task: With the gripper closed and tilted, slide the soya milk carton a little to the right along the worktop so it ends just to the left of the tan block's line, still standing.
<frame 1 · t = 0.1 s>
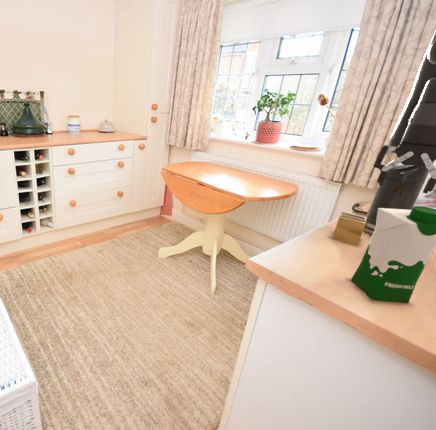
hand: (401, 188, 76), 17 cm above the counter, tool pointing down, fingers open, 8 cm apart
tan block: (345, 238, 86), on the counter
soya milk: (377, 291, 63), on the counter
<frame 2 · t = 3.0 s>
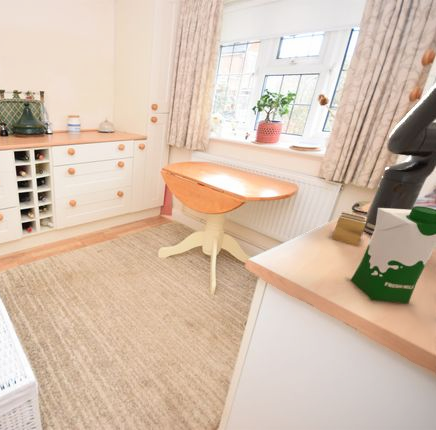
nothing on the counter moved.
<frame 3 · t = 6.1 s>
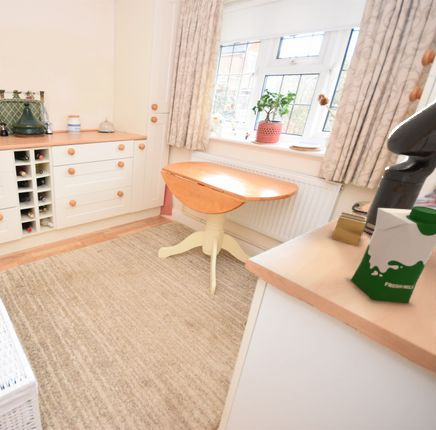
nothing on the counter moved.
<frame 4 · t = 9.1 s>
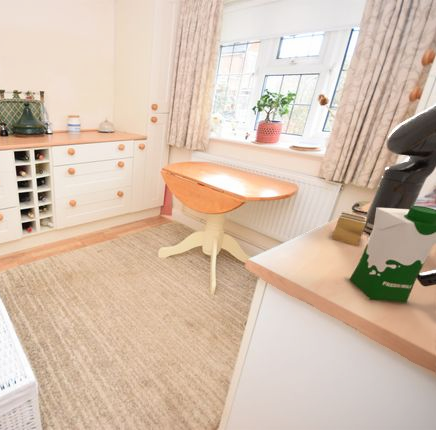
hand: (419, 280, 58), 5 cm above the counter, tool tilted 45°, fingers closed
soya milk: (375, 291, 64), on the counter, touching gripper
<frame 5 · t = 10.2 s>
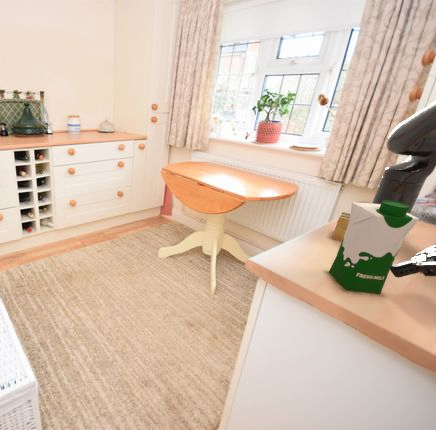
hand: (392, 272, 61), 5 cm above the counter, tool tilted 45°, fingers closed
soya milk: (352, 283, 66), on the counter, touching gripper
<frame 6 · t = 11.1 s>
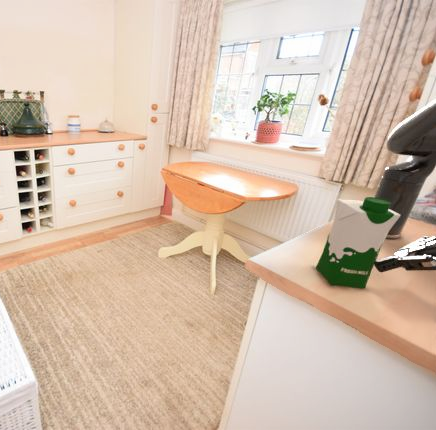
hand: (376, 267, 62), 6 cm above the counter, tool tilted 45°, fingers closed
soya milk: (338, 278, 68), on the counter, touching gripper
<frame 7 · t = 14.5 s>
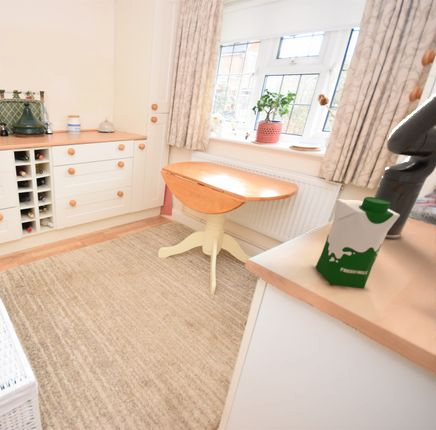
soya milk: (337, 278, 68), on the counter
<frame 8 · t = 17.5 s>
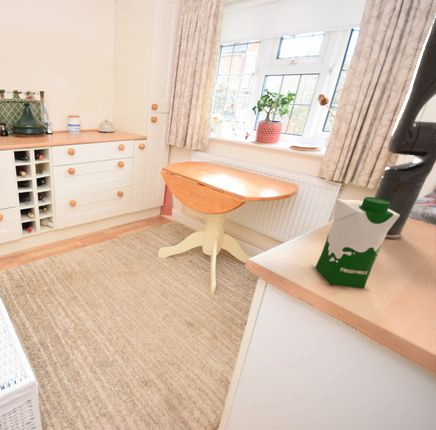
nothing on the counter moved.
at the end: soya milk inside the target area on the counter beside the tan block (0.2 cm from its centre), on the counter; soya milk tilted 0°; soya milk moved 7.1 cm from its start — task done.
